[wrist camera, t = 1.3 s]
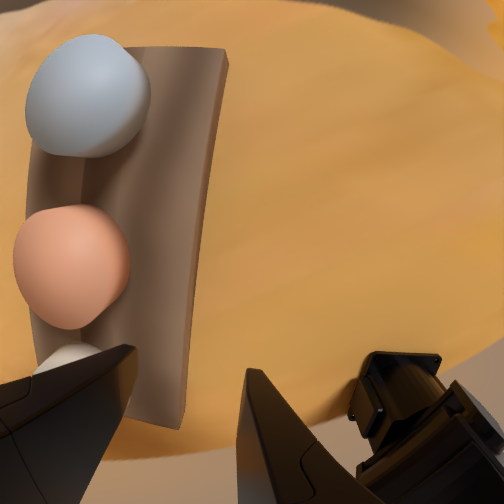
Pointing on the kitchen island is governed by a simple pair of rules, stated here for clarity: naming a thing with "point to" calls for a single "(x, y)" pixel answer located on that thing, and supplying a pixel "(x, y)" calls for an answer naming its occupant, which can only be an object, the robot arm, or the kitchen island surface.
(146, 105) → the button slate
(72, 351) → the cream white rounded ball
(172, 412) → the button board
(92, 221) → the peach rounded lump
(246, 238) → the kitchen island surface
